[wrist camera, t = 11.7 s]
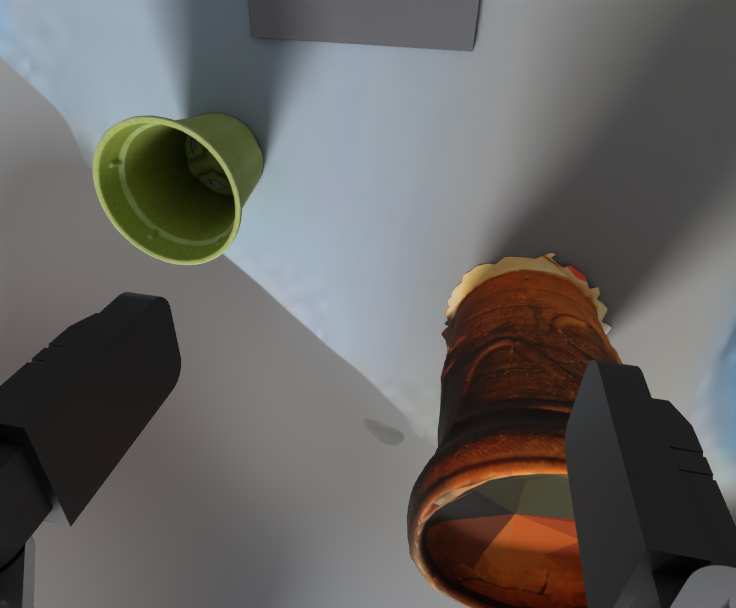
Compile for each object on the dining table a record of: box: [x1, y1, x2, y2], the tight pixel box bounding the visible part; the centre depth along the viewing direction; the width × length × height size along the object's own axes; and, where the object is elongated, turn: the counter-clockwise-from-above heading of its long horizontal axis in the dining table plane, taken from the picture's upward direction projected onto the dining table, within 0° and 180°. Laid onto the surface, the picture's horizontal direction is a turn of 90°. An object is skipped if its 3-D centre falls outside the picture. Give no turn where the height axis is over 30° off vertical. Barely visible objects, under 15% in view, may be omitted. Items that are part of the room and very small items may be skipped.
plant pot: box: [93, 113, 263, 265], centre depth 35 cm, size 9×9×9 cm
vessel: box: [407, 252, 622, 608], centre depth 34 cm, size 14×14×20 cm
